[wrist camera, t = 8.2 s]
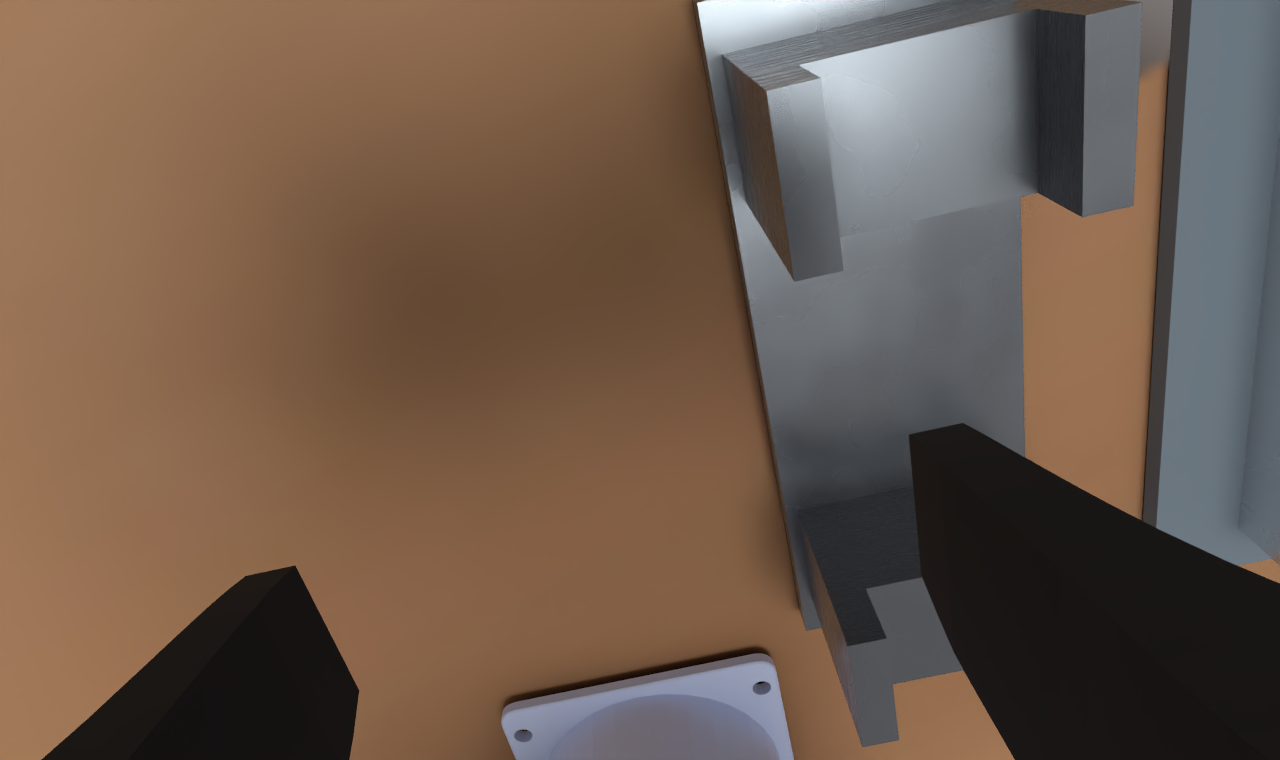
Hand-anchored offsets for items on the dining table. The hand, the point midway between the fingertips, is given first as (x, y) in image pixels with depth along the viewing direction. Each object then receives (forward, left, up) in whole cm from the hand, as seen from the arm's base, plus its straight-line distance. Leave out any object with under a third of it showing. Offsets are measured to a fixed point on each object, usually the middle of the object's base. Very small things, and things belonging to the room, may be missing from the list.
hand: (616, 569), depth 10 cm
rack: (-3, -6, -10) cm, 12 cm away
